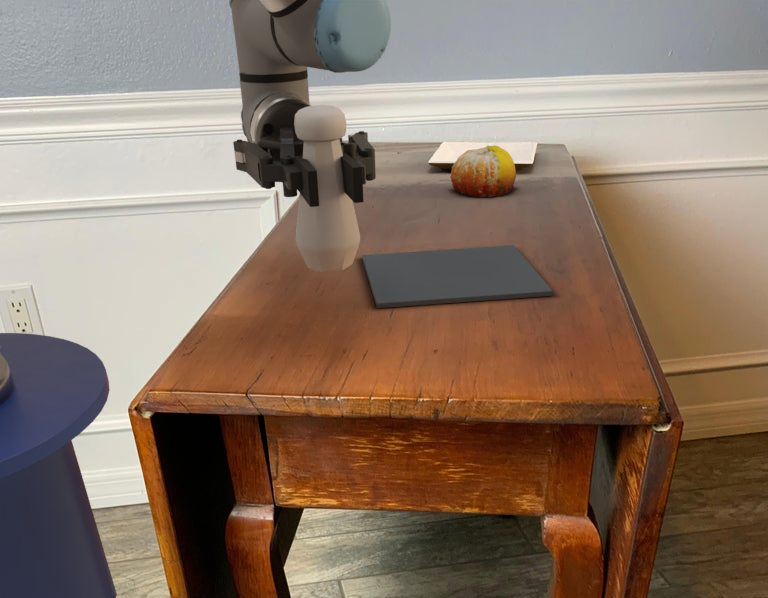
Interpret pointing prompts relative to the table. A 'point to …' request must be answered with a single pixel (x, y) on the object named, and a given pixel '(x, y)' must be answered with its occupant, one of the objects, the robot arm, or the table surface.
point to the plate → (452, 150)
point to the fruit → (484, 172)
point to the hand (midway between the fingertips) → (336, 186)
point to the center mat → (452, 276)
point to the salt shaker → (325, 193)
